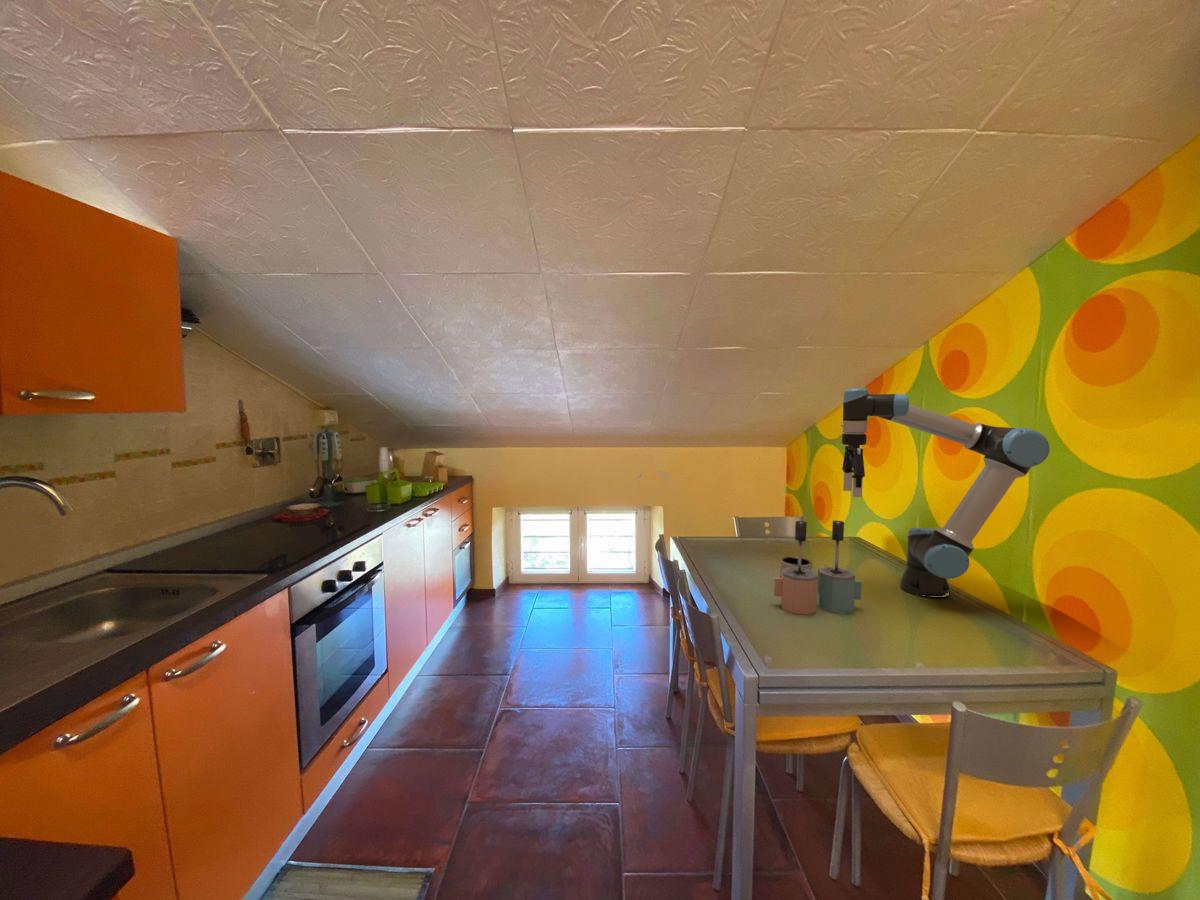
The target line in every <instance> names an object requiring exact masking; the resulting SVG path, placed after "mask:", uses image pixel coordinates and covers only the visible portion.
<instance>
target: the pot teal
mask: <svg viewBox="0 0 1200 900" xmlns="http://www.w3.org/2000/svg"><path fill="white" fill-rule="evenodd" d="M862 585H863V584H862V581H861V580H858V579H856V575H855V573H854V572H853V571H852V570H849V569H846V568H843V567H838V574H835V566H823V567H819V568H817V601H816V605H817V606H818V608H819V609H821V610H824V611H826V612H828V613H833V614H841V615H842V614H843V615H847V614H850V613H853V612H854V609H855V608H854V607H855V606H854V605H855V600H858V601H862Z"/></svg>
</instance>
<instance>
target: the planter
mask: <svg viewBox="0 0 1200 900" xmlns="http://www.w3.org/2000/svg"><path fill="white" fill-rule="evenodd" d="M812 563H813V562H812V561H811V560H809V559H808V558H805V557H804V558H803V557H802V558H801V568H805V569H808V570H811V571H813V570H812V567H813V564H812ZM789 567H794V568H798V556H784V557H782V558H781V559H780V574H779V578H782V569H785V568H789Z"/></svg>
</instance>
